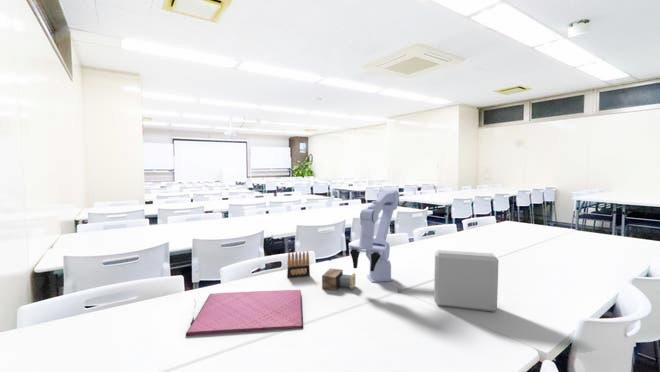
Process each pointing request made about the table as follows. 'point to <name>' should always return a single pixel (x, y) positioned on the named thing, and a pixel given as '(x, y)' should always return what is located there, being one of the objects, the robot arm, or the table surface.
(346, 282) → the peg
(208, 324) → the laptop bag
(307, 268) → the ammunition clip
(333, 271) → the collar block
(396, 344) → the table surface
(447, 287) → the bevelled white case
